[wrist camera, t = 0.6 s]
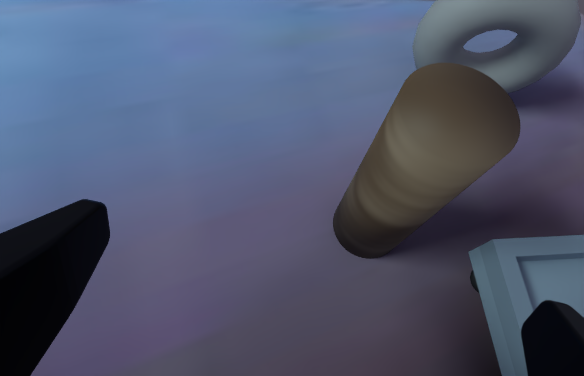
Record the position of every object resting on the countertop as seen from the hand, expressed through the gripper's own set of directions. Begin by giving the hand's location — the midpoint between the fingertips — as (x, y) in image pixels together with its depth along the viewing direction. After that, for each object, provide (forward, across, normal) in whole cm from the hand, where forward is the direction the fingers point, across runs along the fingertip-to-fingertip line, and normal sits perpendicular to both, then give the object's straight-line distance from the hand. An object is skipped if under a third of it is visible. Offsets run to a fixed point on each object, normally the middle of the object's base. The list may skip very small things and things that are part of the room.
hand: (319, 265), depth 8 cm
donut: (+26, -10, +3) cm, 28 cm away
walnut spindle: (+14, -4, +10) cm, 18 cm away
